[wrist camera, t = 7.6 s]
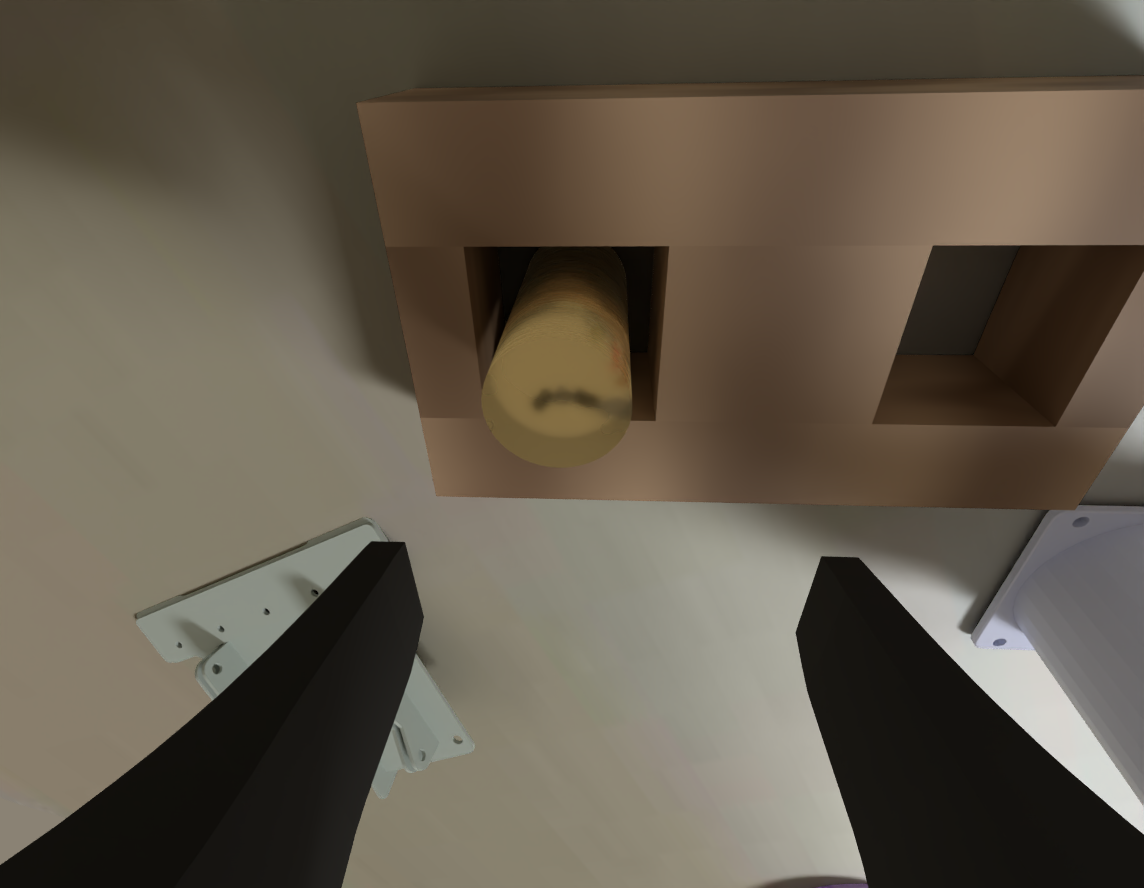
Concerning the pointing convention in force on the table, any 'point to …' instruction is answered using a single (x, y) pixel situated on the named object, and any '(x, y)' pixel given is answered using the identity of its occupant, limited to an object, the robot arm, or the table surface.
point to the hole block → (786, 279)
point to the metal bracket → (253, 630)
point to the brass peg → (563, 360)
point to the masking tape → (845, 886)
